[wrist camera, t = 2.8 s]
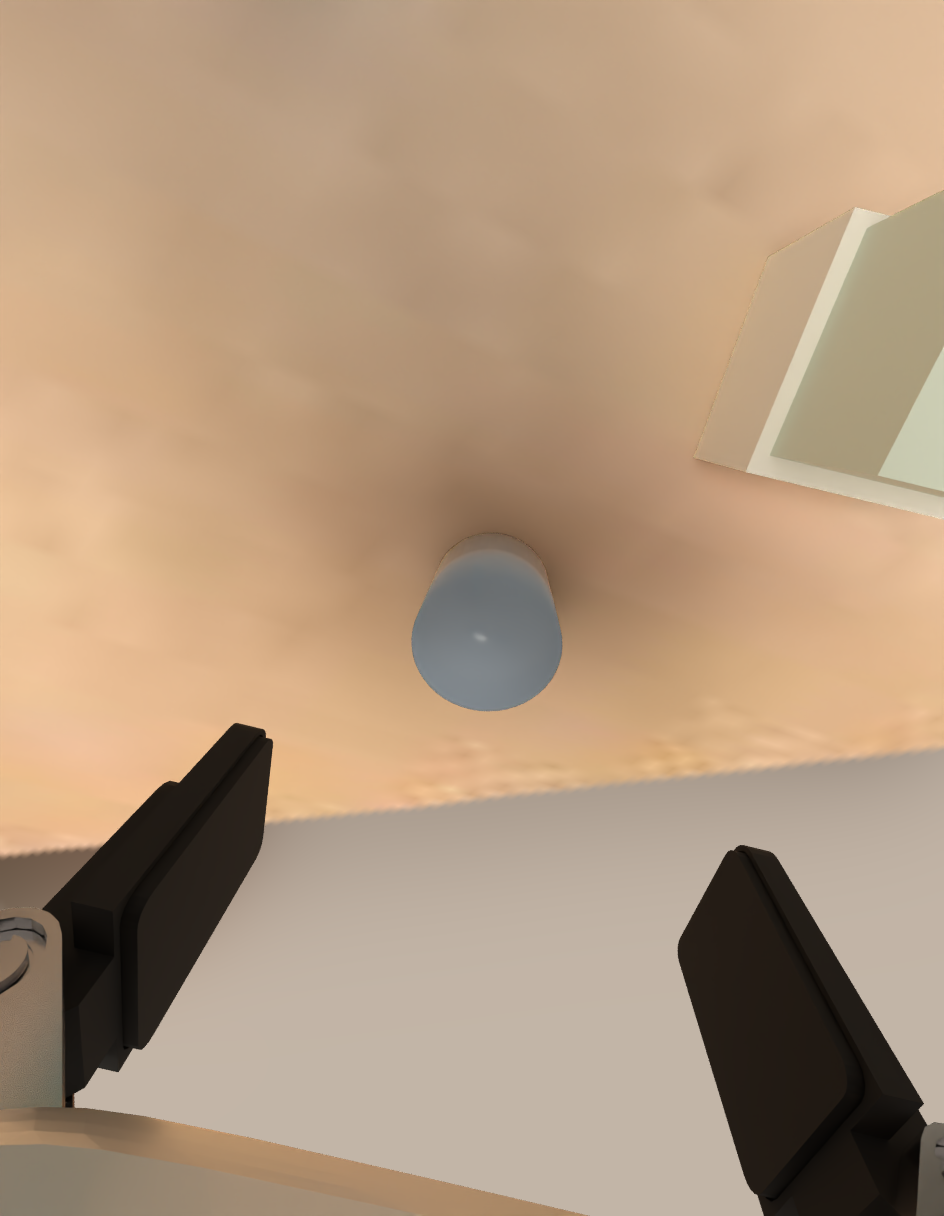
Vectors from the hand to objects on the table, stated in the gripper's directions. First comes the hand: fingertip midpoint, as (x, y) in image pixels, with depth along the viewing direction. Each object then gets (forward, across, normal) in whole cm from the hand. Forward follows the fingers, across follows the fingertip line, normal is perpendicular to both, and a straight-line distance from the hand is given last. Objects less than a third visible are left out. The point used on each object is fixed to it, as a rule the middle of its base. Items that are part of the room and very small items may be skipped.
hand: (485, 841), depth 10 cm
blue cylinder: (+14, +1, -1) cm, 14 cm away
